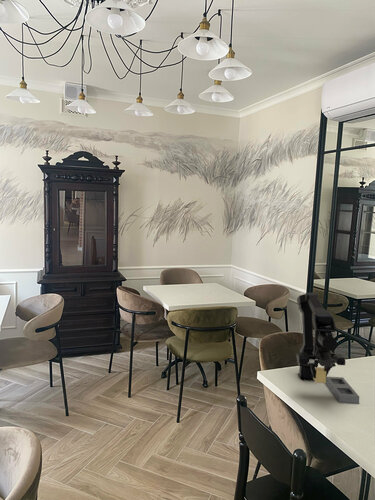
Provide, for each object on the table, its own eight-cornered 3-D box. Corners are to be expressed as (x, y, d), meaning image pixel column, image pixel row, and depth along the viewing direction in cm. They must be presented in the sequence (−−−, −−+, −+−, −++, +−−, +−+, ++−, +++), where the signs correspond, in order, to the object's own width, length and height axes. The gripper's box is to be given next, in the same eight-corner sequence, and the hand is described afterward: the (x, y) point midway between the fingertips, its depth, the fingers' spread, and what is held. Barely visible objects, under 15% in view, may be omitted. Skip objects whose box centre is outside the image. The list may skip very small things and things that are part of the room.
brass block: (315, 382, 148) (316, 371, 147) (313, 378, 152) (313, 367, 151) (325, 383, 148) (326, 371, 147) (322, 378, 152) (323, 367, 151)
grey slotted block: (338, 402, 145) (339, 395, 145) (324, 382, 163) (325, 376, 163) (358, 403, 145) (359, 396, 145) (342, 383, 163) (342, 377, 163)
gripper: (303, 347, 141) (301, 385, 142) (351, 350, 140) (349, 388, 141) (296, 338, 152) (295, 374, 153) (341, 340, 151) (339, 376, 152)
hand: (319, 378), depth 150 cm, fingers closed on brass block, 4 cm apart
